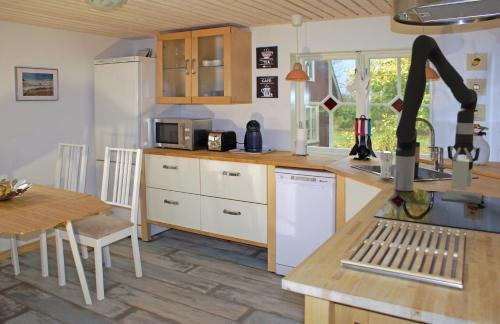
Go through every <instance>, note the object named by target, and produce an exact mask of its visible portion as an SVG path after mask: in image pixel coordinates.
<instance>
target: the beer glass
mask: <svg viewBox="0 0 500 324" xmlns="http://www.w3.org/2000/svg"><path fill="white" fill-rule="evenodd" d="M393 156H394V155H393V151H386V150H384V151H380V156H379V165H380V174H379V178H380V179H386V180H387V179H388V180H389V179H391V178H392V174H391V171H392V166H393V159H394V157H393Z"/></svg>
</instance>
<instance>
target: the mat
mask: <svg viewBox="0 0 500 324" xmlns="http://www.w3.org/2000/svg"><path fill="white" fill-rule="evenodd" d="M482 200H483V193H482V192H473V191H466V190H456V189H454V190H452V189H446V190H445V192H444V193H443V195H442V196H441V201H447V202H456V201H457V203H458V202H459V203H469V204H478V205H482Z"/></svg>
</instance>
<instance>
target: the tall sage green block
mask: <svg viewBox="0 0 500 324" xmlns="http://www.w3.org/2000/svg"><path fill="white" fill-rule="evenodd" d="M469 162H470V161H469V158H468V159H465V158H457V159H456V161H453V166H452V165H451V169H452V170H451V183H450V184H451V185H450V190H452V189H454V190H458V191H466V190H467V187H469V188H470V187H472V184H473V170H474V167H473V168H472V169H471V170H469Z"/></svg>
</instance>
